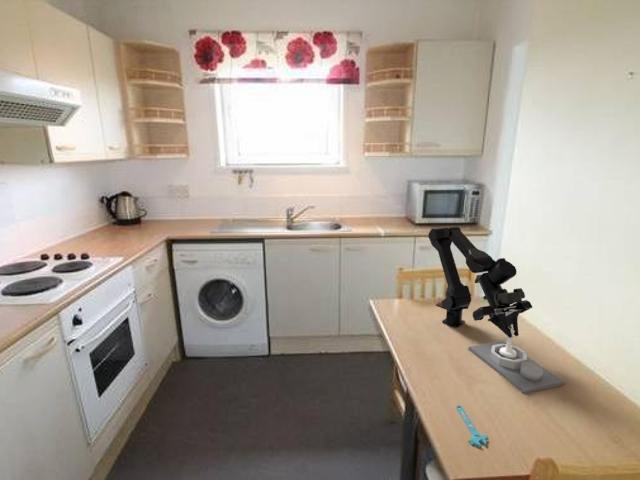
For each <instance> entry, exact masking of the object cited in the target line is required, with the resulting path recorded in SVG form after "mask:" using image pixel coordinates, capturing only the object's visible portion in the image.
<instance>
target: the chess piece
mask: <svg viewBox="0 0 640 480" xmlns="http://www.w3.org/2000/svg"><path fill="white" fill-rule="evenodd" d="M510 327H511V329H510V328H509V329H510V331H511V334H512V337H510V338H509V337H508V336H507V335H506V339H507V341H506V343H507V345H506V347H502V348H500V351H499V352H500V353H501V354H502V355H504V356H506V357H516V356H517V353H516V351H515V350H513V349H512V346H513V344H512V340H514V339H515V337H514V332H515V331H514V330H513V324H511V325H510Z"/></svg>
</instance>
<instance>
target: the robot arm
mask: <svg viewBox="0 0 640 480" xmlns="http://www.w3.org/2000/svg"><path fill="white" fill-rule="evenodd" d="M461 230H462V229H461V228H460V227H459V226H457V225H455V226H448V227H436V228H435V227H433V228H431V229H430V231H429V232H428V233H427V235H428V236H427V237H428V240H429V241H430V244H431V246H432V247H433V248H435V250H436V251H437V253H438V257H439V260H440V263H441V267H442V270H443V274H444V278H445V280H446V284H447V286H446V287H447V288H446V291H445V298H444V299H442V300H443V301H442V300H441V301H442V302H441V303H442V307H441V308H443V309H444V310H445V311H446V315H445V319H442V320H441V322H442V323H444V324H446V325H447V326H452V327H455V328H459V327H461V326H462V325H464V324H465V323H466V321H465V320H463V319H462V318H463V310H469V307H470V305H471V302H472V294H471V292H470V288H469V286H468V285H464V283H462V282H461V279H460V275H459V272H458V267H457V264H456V261H455V258H454V255H453V252H452V248H451V246H452V244H453V245H454V246H455V247H456V248H457V249H458V251H459V252H460V253H461V254H462V256H463V257H464V258H465V264H466V266H467V267H468V269H469V271H470V272H471V273H473V274H477V275H476V276H475V277H476V278H475V279H474V283H475V284H479V285H480V287H481V289H482V291H483V294H484V296H482V298H483V300H484V301H487V303H488V305H486V306H480V307H478V308H477V309H475V310H473V311H472V318H473V320H474V321H475V322H477V321H482V320H483V319H484V317H486V316H487V317H489V318H488V319H487V322H490V323H492V324H493V325H494V326H496V327H497V328H498V329H499V330H500V331H501V332H503V333H504V334H505V335H506V336H508V337H509V338H510V337H512V334H511V331H510V329H511V327H510V325H511V324H513V330H514V331H515V332H514V334H513V336H515V337H518V336H519V325H518V317H519V315H520V314H524V313H525V312H527V311H528V310H531V309H533V307H534V306H533V305H532V303H531V302H530V301H529V300H527V299H525V298H526V295H525V294H526V293H525V292H524V290H523V289H522V288H518V287H517V288H514V289H513V291H511V292H508V290H507V289H506V288H503V287H502V285H504V284H505V283H507V282H508V281H510V280H511V279H512V278H514V277H515V276H517V267H516V266H514V264H513V263H511V262H509V261H508V260H506V258H505V257H502V258H500V257H499V258H498V259H496V260H495V259H493V257H492V256H491V255H489V254H488V253H487V252H485V251H483V250H481V249H478V247H476V246H475V245H474V244H473V243H472V241H470V239H469V238H468V237H467V236H466V235H465V234H464V233H463V232H462V231H461ZM479 273H482V274H479ZM522 299H524V300H522Z"/></svg>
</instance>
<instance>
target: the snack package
mask: <svg viewBox="0 0 640 480" xmlns="http://www.w3.org/2000/svg"><path fill="white" fill-rule="evenodd" d="M443 300H444V299H442V300H440V301H438V302H437V303H435V306H438V307H440V308H443V307H442V303H441V302H442V301H443Z"/></svg>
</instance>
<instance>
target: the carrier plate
mask: <svg viewBox="0 0 640 480" xmlns="http://www.w3.org/2000/svg"><path fill="white" fill-rule="evenodd" d="M506 345H507V341H504V340H499V341H494V342H486V343H481V344H475V345H472V346H468V348H467V350H469V351H470V352H471V353H472V354H474V355H475V356H476V357H477V358H478V359H480V360H481V361H482V362H484V363H485V364H486V365H487V366H489V367H490V368H491V369H492V370H494V371H495V372H496V373H498V374H499V375H500V376H501V377H503V379H505V380H507V382H508V383H510V384H511V385H512V386H514V387H515V389H516V388H517V390H519V391H521V392H522V394H523V395H524V394H529V393H534V392H538V391H543V390H546V389H552V388H556V387H560V386H564V385H565V380H563V379H561V378H559V377H558V376H557V375H555V374H554V373H552V372H551V371H549V370H548V369H546V368H545V367H543V366H542V365H540V364H539V363H538V362H536V361H534V359H533V360H532V359H531V358H530V357H529V356H528V353H527V352H526V351H524V350H522V349H521V348H520V347H518V346H515V345H512V349H513V350H515V351H516V353H517V356H516V357H506V356H504V355H502V354H501V353H500V352H499V351H500V348H502V347H506Z"/></svg>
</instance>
